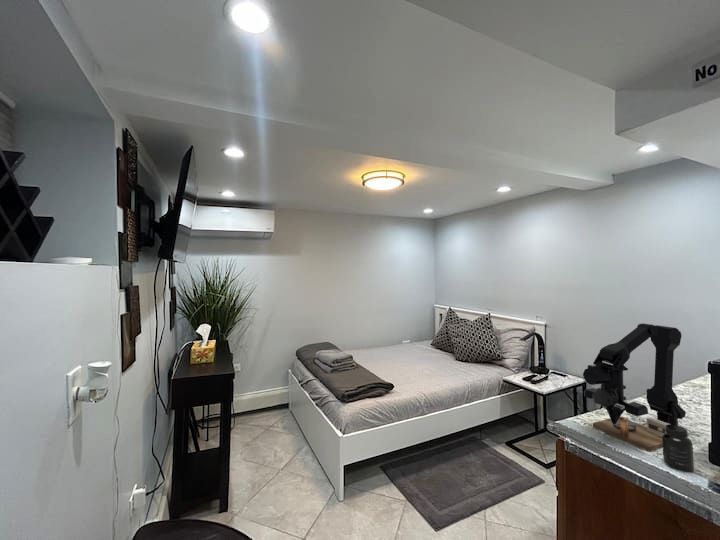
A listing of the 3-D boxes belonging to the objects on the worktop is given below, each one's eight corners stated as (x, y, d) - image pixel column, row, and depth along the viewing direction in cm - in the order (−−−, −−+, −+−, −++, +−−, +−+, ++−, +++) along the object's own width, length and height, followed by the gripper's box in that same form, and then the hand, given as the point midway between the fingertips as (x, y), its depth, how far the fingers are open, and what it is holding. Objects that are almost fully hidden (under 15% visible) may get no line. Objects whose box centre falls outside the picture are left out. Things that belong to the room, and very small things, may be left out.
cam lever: (612, 420, 126) (612, 405, 126) (636, 425, 121) (635, 409, 121) (612, 433, 116) (611, 417, 116) (637, 439, 112) (636, 422, 112)
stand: (618, 419, 130) (617, 404, 130) (676, 442, 112) (676, 424, 112) (592, 426, 125) (592, 410, 125) (650, 451, 107) (649, 432, 107)
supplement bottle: (662, 457, 104) (660, 420, 104) (692, 464, 100) (690, 426, 100) (664, 467, 99) (662, 429, 99) (696, 475, 95) (694, 435, 95)
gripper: (573, 377, 124) (574, 416, 124) (626, 394, 106) (628, 440, 106) (593, 373, 127) (594, 411, 127) (648, 389, 110) (649, 434, 110)
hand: (614, 423), depth 117 cm, fingers closed
